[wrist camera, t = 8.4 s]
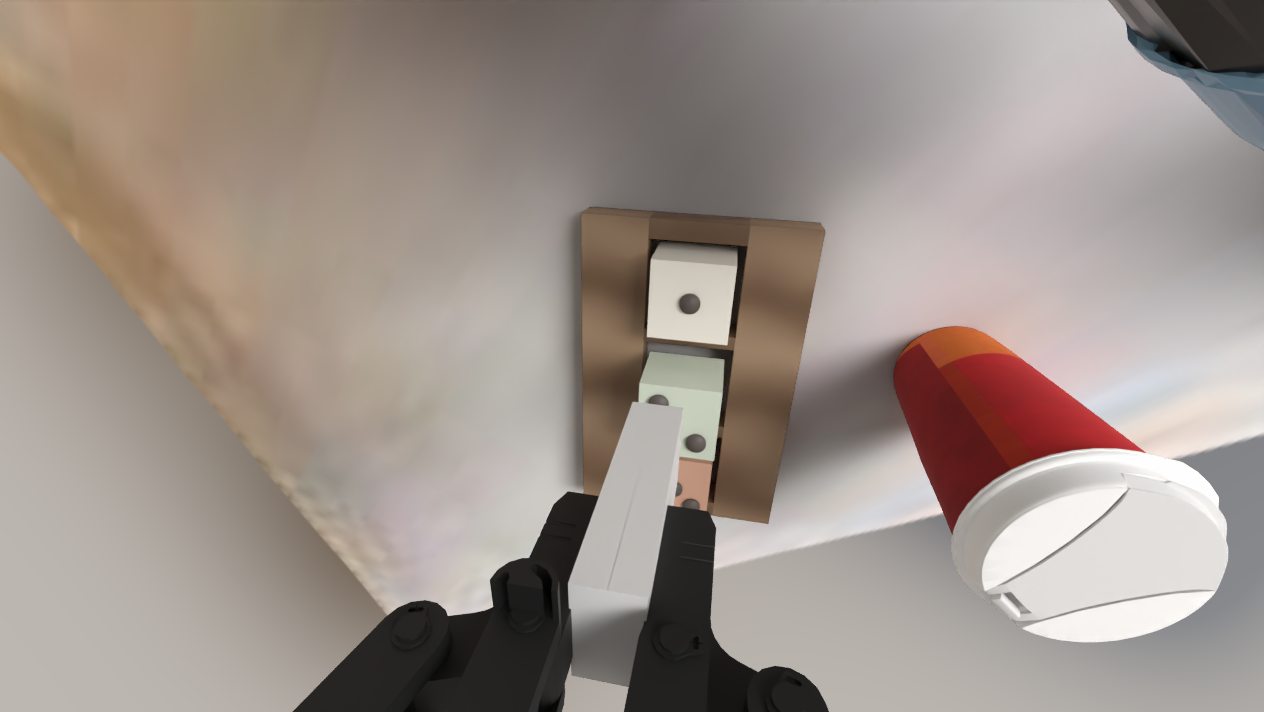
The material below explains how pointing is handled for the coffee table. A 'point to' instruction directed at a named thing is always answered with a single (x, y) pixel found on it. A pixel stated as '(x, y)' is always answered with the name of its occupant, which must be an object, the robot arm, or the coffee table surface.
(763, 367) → the tile board
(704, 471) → the tile three
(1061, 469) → the coffee cup
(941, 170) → the coffee table surface
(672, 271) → the tile one
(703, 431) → the tile two
